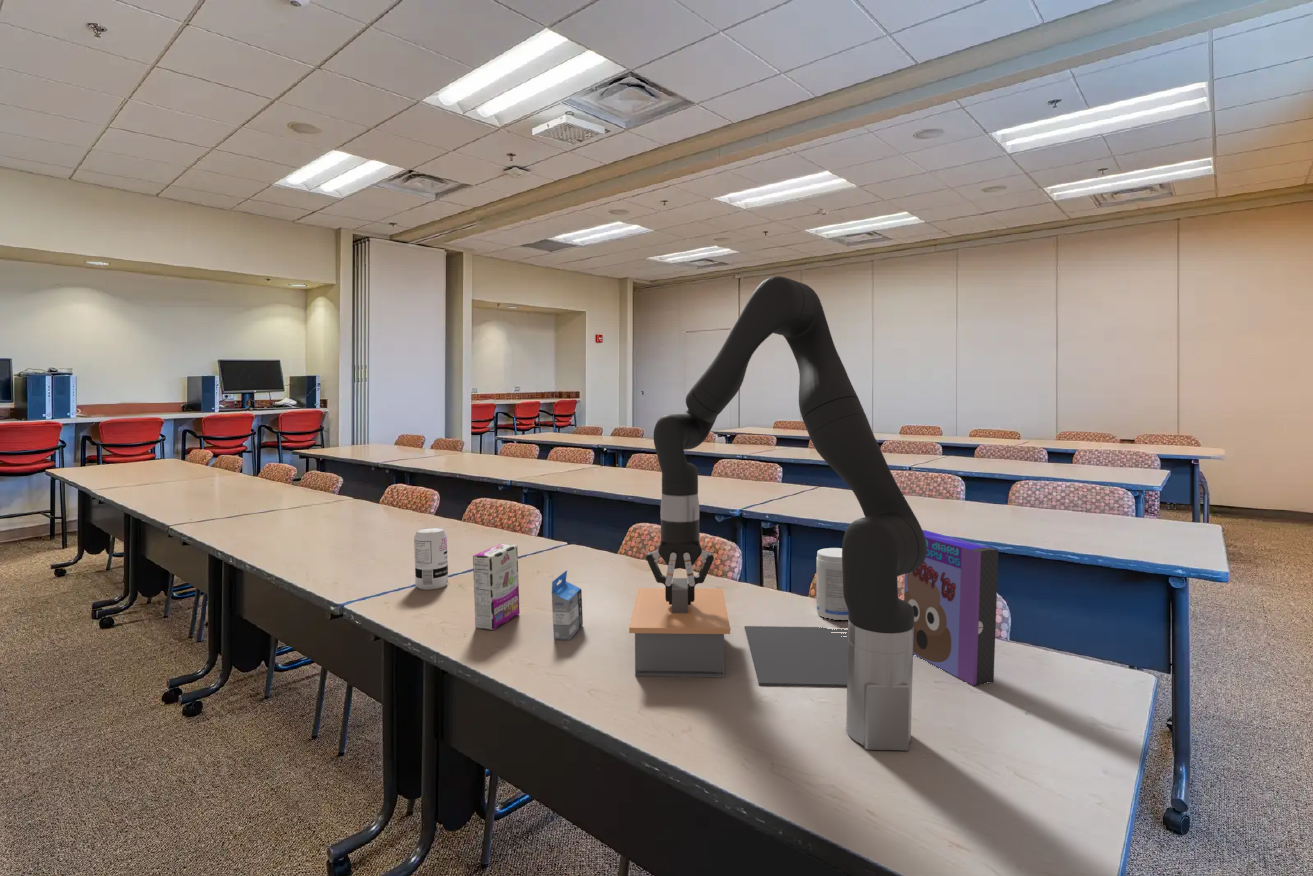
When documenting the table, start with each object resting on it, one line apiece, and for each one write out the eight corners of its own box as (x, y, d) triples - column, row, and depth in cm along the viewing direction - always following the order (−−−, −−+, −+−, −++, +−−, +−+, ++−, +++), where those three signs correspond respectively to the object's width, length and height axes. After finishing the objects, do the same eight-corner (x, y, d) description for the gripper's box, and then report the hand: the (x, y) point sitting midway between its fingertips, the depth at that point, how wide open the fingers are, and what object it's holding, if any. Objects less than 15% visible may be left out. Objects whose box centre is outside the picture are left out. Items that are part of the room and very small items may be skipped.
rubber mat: (897, 687, 115) (897, 685, 115) (759, 685, 116) (759, 683, 116) (856, 629, 143) (856, 627, 143) (744, 627, 144) (744, 626, 144)
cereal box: (902, 649, 131) (905, 530, 130) (921, 646, 133) (925, 529, 131) (972, 686, 115) (977, 551, 113) (993, 682, 117) (998, 548, 115)
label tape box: (570, 640, 137) (569, 582, 136) (551, 639, 137) (550, 581, 136) (583, 625, 145) (582, 571, 144) (565, 624, 146) (565, 570, 145)
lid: (722, 597, 141) (722, 567, 141) (730, 639, 117) (730, 603, 117) (638, 597, 142) (638, 567, 142) (629, 638, 118) (629, 603, 118)
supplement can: (414, 583, 177) (412, 528, 176) (446, 580, 180) (444, 525, 179) (417, 592, 170) (415, 534, 168) (450, 588, 173) (448, 531, 172)
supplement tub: (868, 617, 150) (869, 553, 149) (839, 625, 145) (840, 559, 144) (835, 605, 158) (836, 545, 157) (807, 613, 153) (807, 550, 152)
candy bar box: (501, 612, 154) (500, 543, 153) (520, 614, 152) (519, 544, 151) (473, 628, 144) (471, 554, 142) (493, 631, 142) (491, 556, 141)
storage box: (717, 632, 141) (717, 595, 140) (723, 677, 119) (723, 633, 118) (642, 631, 142) (642, 595, 141) (635, 675, 120) (634, 632, 119)
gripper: (642, 520, 125) (643, 609, 126) (717, 520, 124) (717, 610, 125) (645, 512, 132) (645, 597, 133) (715, 513, 132) (715, 598, 133)
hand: (680, 603), depth 129 cm, fingers closed on lid, 3 cm apart
